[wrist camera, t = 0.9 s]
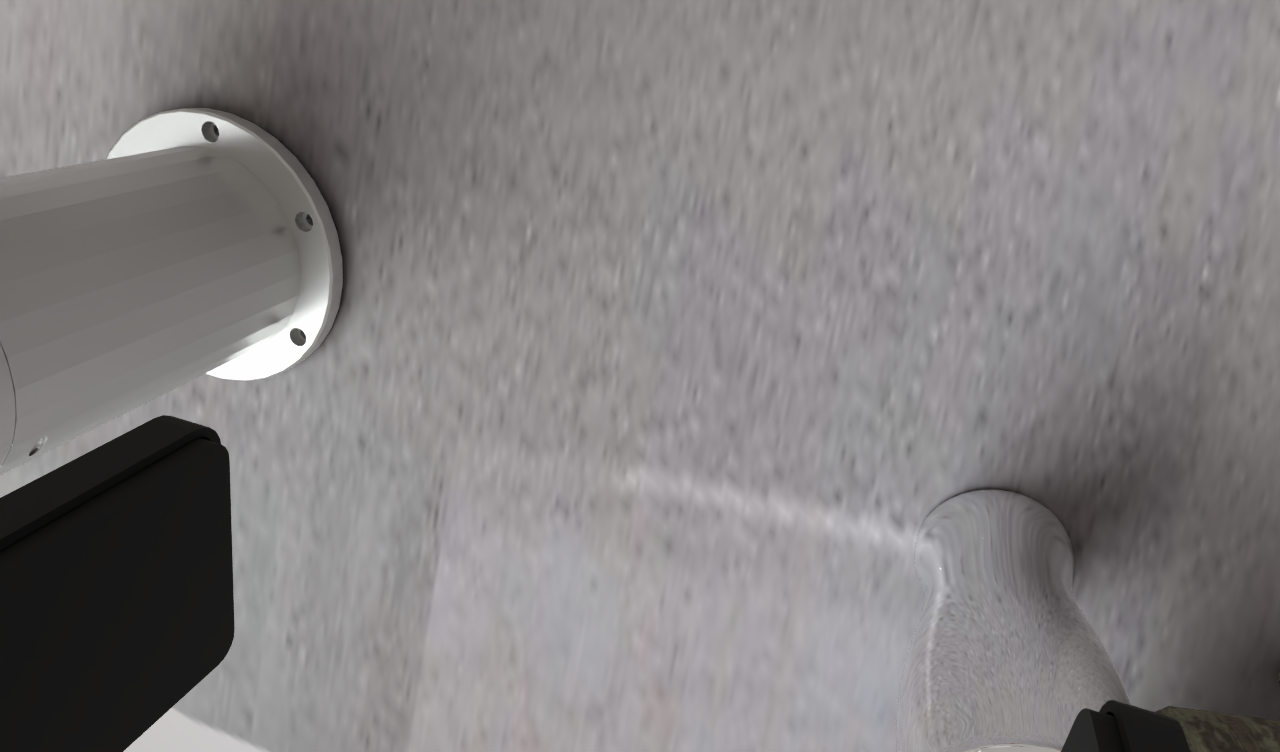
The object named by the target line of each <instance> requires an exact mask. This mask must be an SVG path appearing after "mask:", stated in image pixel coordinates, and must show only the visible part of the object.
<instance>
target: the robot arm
mask: <svg viewBox="0 0 1280 752" xmlns="http://www.w3.org/2000/svg"><path fill="white" fill-rule="evenodd" d="M342 287H343V267H342V255H341V250H340V244H339V239H338V234H337V230H336V228H335V225H334V222H333V219H332V217H331V214H330V211H329V208H328V206H327V204H326V202H325V200H324V198H323V197H322V195H321V193H320V191H319V189H318V187H317V185H316V184H315V182H314V180H313V179H312V178H311V176H310V175H309V174H308V172H307V171H306V170H305V168H304V167H303V166H302V164H301V163H300V162H299V160H298V159H297V158H296V157H295V156H294V155H293V154H292V153H291V152H290V151H289V150H288V149H287V148H286V147H285V146H284V145H282V144H281V143H280V142H279V141H278V140H277V139H276V138H275V137H273V136H272V135H270V134H269V133H267V132H266V131H264V130H263V129H261V128H260V127H259V126H257V125H256V124H254V123H252V122H250V121H247V120H245V119H243V118H241V117H238V116H236V115H234V114H232V113H228V112H224V111H219V110H214V109H210V108H182V109H176V110H170V111H163V112H159V113H156V114H154V115H152V116H149V117H147V118H144V119H142V120H140V121H139V122H137V123H136V124H135V125H133V126H132V127H131V128H129V129H128V130H127V131H125V132H124V133H123V134H122V136H121V137H120V138H119V139H118V141H117V142H116V143H115V145H114V146H113V147H112V148H111V150H110V152H109V154H108V156H107V158H106V160H100V161H95V162H89V163H83V164H78V165H72V166H66V167H61V168H55V169H49V170H43V171H38V172H32V173H26V174H21V175H15V176H9V177H3V178H0V475H2V474H4V473H6V472H8V471H10V470H12V469H14V468H16V467H18V466H20V465H22V464H24V463H26V462H28V461H30V460H32V459H34V458H36V457H38V456H40V455H42V454H44V453H46V452H48V451H50V450H52V449H54V448H56V447H58V446H60V445H62V444H64V443H66V442H68V441H70V440H72V439H74V438H76V437H78V436H80V435H82V434H84V433H86V432H88V431H90V430H92V429H94V428H96V427H98V426H100V425H102V424H104V423H106V422H108V421H110V420H112V419H114V418H117V417H119V416H121V415H123V414H125V413H127V412H129V411H131V410H133V409H135V408H137V407H139V406H141V405H143V404H145V403H147V402H149V401H151V400H153V399H155V398H157V397H159V396H161V395H163V394H165V393H167V392H169V391H171V390H173V389H175V388H177V387H179V386H181V385H183V384H185V383H187V382H189V381H191V380H193V379H195V378H197V377H199V376H201V375H203V374H207V375H210V376H214V377H217V378H221V379H224V380H234V381H246V382H247V381H255V380H262V379H268V378H270V377H273V376H275V375H278V374H281V373H283V372H286V371H287V370H289V369H291V368H292V367H294V366H296V365H298V364H299V363H301V362H303V361H304V360H305V359H307V358H308V357H309V356H310V355H311V354H312V353H313V352H314V351H315V350H316V349H317V348H319V346H320V345H321V343H322V342H323V340H324V339H325V337H326V336H327V334H328V333H329V332H330V330H331V328H332V325H333V323H334V320H335V317H336V315H337V312H338V310H339V305H340V299H341V293H342ZM233 638H234V602H233V567H232V533H231V499H230V465H229V454H228V451H227V449H226V448H225V447H224V446H223V445H221V442H220V438H219V436H218V434H217V433H216V431H214V430H213V429H211V428H209V427H206V426H202V425H199V424H196V423H192V422H189V421H186V420H182V419H179V418H176V417H172V416H164V415H163V416H160V417H157V418H154V419H152V420H150V421H148V422H146V423H144V424H142V425H141V426H139V427H137V428H135V429H133V430H131V431H129V432H127V433H125V434H123V435H121V436H119V437H117V438H115V439H114V440H112V441H110V442H108V443H106V444H104V445H102V446H100V447H98V448H96V449H94V450H92V451H90V452H88V453H86V454H85V455H83V456H81V457H79V458H77V459H75V460H73V461H71V462H69V463H67V464H65V465H63V466H61V467H59V468H58V469H56V470H54V471H52V472H50V473H48V474H46V475H44V476H42V477H40V478H38V479H36V480H34V481H32V482H30V483H29V484H27V485H25V486H23V487H21V488H19V489H17V490H15V491H13V492H11V493H9V494H7V495H5V496H3V497H1V498H0V752H123V751H124V750H125V749H126V748H127V747H128V746H130V745H131V744H132V743H133V742H134V741H135V740H136V739H137V738H138V737H140V736H141V735H142V734H143V733H144V732H145V731H146V730H147V729H148V728H149V727H151V725H153V724H154V723H155V722H156V721H157V720H158V719H159V718H160V717H162V716H163V715H164V714H165V713H166V712H167V711H168V710H169V709H170V708H171V707H173V706H174V705H175V704H176V703H177V702H178V701H179V700H180V699H181V698H182V697H184V696H185V695H186V694H187V693H188V692H189V691H190V690H191V689H192V688H193V687H195V686H196V685H197V684H198V683H199V682H200V681H201V680H202V679H203V678H204V677H206V676H207V675H208V674H209V673H210V672H211V671H212V670H213V669H214V668H215V667H217V666H218V665H219V663H220V662H221V661H222V660H223V659H224V657H225V656H226V654H227V653H228V651H229V649H230V647H231V644H232V641H233ZM1061 752H1191V751H1190V749H1189V746H1188V743H1187V740H1186V737H1185V734H1184V731H1183V729H1182V727H1181V725H1180V723H1179V722H1178V721H1177V720H1175V719H1174V718H1171V717H1168V716H1165V715H1161V714H1158V713H1155V712H1151V711H1148V710H1145V709H1141V708H1138V707H1135V706H1131V705H1128V704H1125V703H1121V702H1118V701H1115V700H1110V701H1107V702H1106V703H1105V704H1104V705H1103V706H1102V707H1101V709H1100V711H1099V712H1097V711H1094V710H1091V709H1087V708H1085V709H1082V710H1081V711H1080V712H1079V713H1078V715H1077V717H1076V719H1075V721H1074V723H1073V725H1072V728H1071V730H1070V732H1069V734H1068V737H1067V739H1066V741H1065V743H1064V746H1063V748H1062V750H1061Z"/></svg>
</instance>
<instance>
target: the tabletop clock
mask: <svg viewBox="0 0 1280 752" xmlns="http://www.w3.org/2000/svg"><path fill="white" fill-rule="evenodd" d="M1278 678H1279V683H1280V672H1279V673H1278ZM1155 713H1158V714H1161V715H1165V716H1168V717H1171V718H1174V719H1175V720H1177V721H1178V722H1179V723H1180V725H1181V727H1182V729H1183V731H1184V734H1185V737H1186V740H1187V743H1188V746H1189V749H1190V751H1191V752H1280V721H1275V720H1267V719H1260V718H1252V717H1245V716H1238V715H1230V714H1223V713H1216V712H1208V711H1201V710H1194V709H1186V708H1179V707H1171V706H1168V707H1166V708H1163V709H1161V710H1159V711H1156V712H1155Z"/></svg>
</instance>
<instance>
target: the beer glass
mask: <svg viewBox="0 0 1280 752" xmlns="http://www.w3.org/2000/svg"><path fill="white" fill-rule="evenodd" d="M914 556H915V565H916V570H917V574H918V577H919V580H920V583H921V586H922V589H923V592H924V605H923V608H922V611H921V614H920V617H919V620H918V623H917V625H916V628H915V631H914V634H913V637H912V640H911V643H910V646H909V649H908V652H907V656H906V660H905V664H904V668H903V673H902V677H901V681H900V686H899V694H898V705H897V716H896V752H1061V750H1062V748H1063V746H1064V743H1065V741H1066V739H1067V737H1068V734H1069V732H1070V730H1071V728H1072V725H1073V723H1074V721H1075V719H1076V717H1077V715H1078V713H1079V712H1080V711H1081V710H1082V709H1085V708H1087V709H1091V710H1094V711H1097V712H1099V711H1100V709H1101V707H1102V706H1103V705H1104V704H1105V703H1106V702H1107V701H1110V700H1115V701H1118V702H1121V703H1125V704H1128V705H1131V703H1130V701H1129V698H1128V695H1127V692H1126V689H1125V687H1124V684H1123V682H1122V680H1121V678H1120V676H1119V674H1118V672H1117V670H1116V668H1115V667H1114V665H1113V663H1112V661H1111V659H1110V657H1109V655H1108V653H1107V651H1106V649H1105V648H1104V646H1103V644H1102V643H1101V641H1100V639H1099V638H1098V636H1097V634H1096V633H1095V631H1094V630H1093V628H1092V626H1091V625H1090V623H1089V621H1088V620H1087V618H1086V617H1085V615H1084V614H1083V612H1082V610H1081V609H1080V607H1079V605H1078V604H1077V602H1076V600H1075V598H1074V596H1073V593H1072V579H1073V568H1074V557H1073V550H1072V545H1071V541H1070V538H1069V536H1068V534H1067V532H1066V530H1065V528H1064V527H1063V525H1062V524H1061V522H1060V521H1059V520H1058V519H1057V518H1056V516H1055V515H1054V514H1053V513H1052V512H1051V511H1049V510H1048V509H1047V508H1046V507H1044V506H1043V505H1042V504H1040V503H1038V502H1037V501H1035V500H1033V499H1031V498H1029V497H1027V496H1024V495H1021V494H1018V493H1015V492H1011V491H1006V490H997V489H984V490H975V491H970V492H966V493H963V494H960V495H957V496H955V497H952V498H950V499H948V500H947V501H945V502H943V503H942V504H940V505H939V506H938V507H937V508H935V509H934V510H933V511H932V512H931V513H930V514H929V515H928V517H927V518H926V519H925V521H924V522H923V524H922V526H921V528H920V530H919V533H918V536H917V539H916V543H915V551H914Z"/></svg>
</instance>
